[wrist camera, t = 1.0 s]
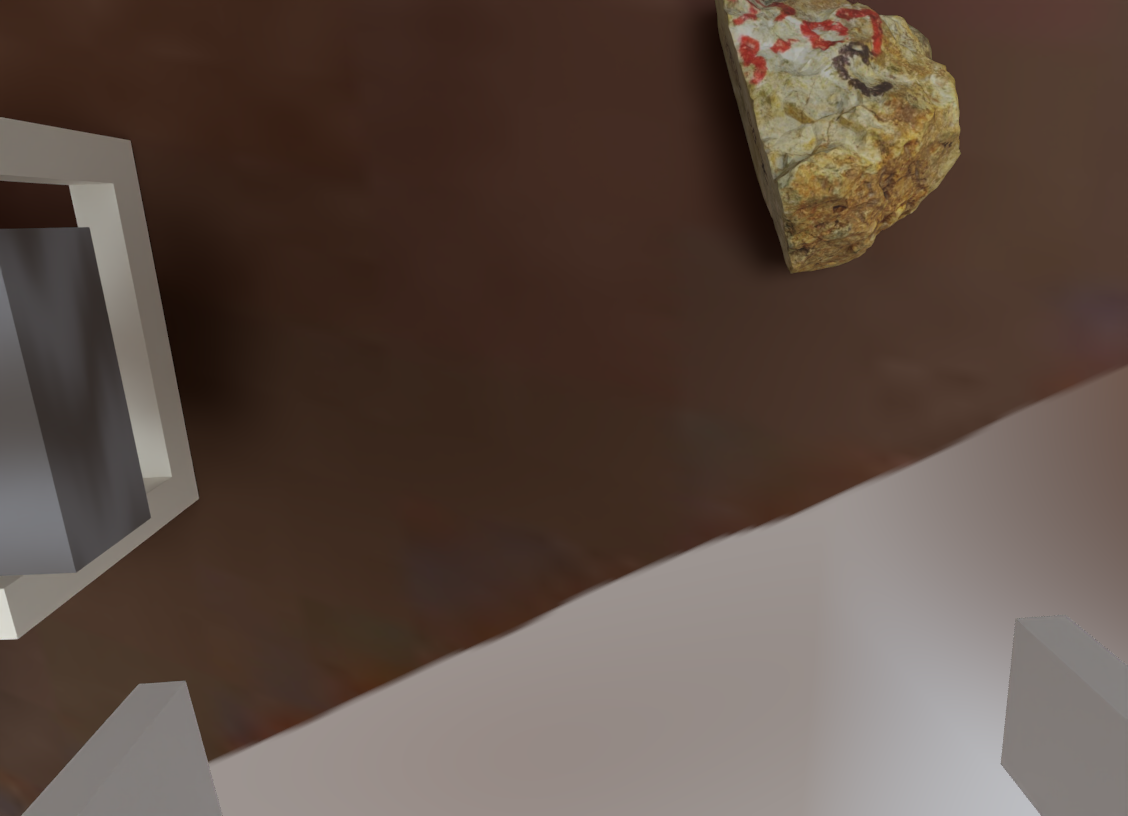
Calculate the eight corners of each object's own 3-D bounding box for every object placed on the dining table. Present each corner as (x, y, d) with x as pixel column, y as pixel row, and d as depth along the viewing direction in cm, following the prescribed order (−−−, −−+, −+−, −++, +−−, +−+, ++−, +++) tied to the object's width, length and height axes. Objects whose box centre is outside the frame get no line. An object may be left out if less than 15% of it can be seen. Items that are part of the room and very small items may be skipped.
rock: (713, 101, 37) (674, -21, 28) (881, 14, 35) (900, -154, 25) (798, 302, 35) (786, 241, 26) (984, 224, 32) (1047, 124, 23)
